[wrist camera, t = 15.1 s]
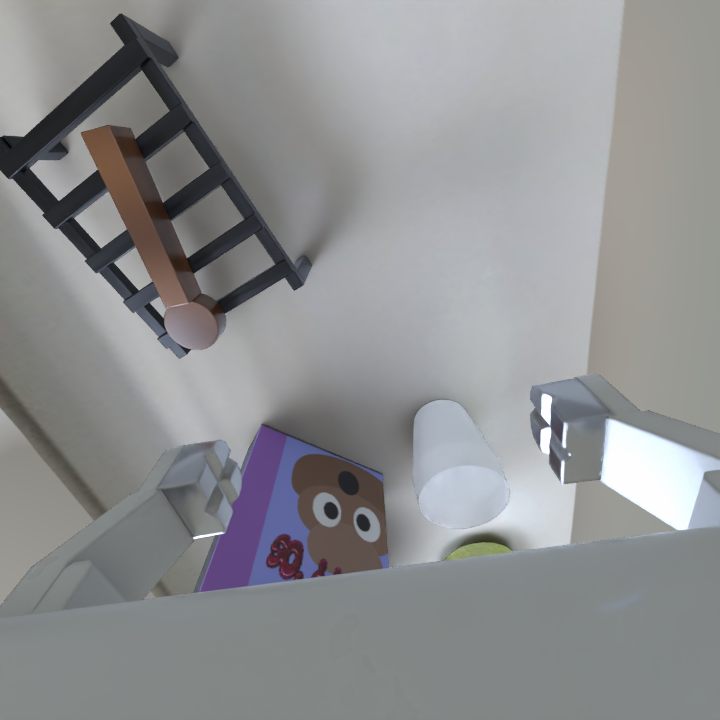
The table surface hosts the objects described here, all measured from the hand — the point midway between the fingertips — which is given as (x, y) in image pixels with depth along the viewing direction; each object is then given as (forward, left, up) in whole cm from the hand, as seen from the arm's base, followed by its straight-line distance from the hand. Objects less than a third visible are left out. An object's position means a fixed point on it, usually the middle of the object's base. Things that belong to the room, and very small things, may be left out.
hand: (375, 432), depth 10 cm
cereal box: (+22, -20, -29) cm, 42 cm away
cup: (+24, -3, -29) cm, 38 cm away
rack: (-10, -13, -29) cm, 33 cm away
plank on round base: (-8, -13, -22) cm, 27 cm away
